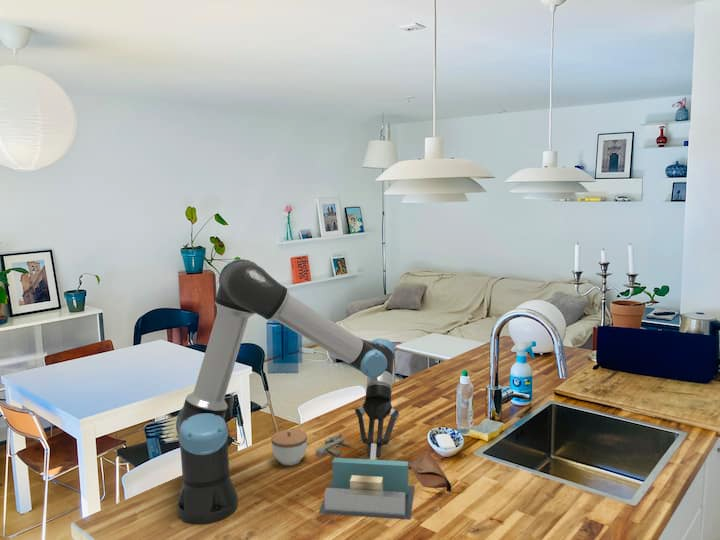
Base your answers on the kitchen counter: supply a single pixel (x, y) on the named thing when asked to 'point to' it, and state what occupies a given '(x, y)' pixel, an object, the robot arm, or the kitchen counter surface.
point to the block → (366, 483)
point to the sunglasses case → (429, 472)
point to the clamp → (326, 448)
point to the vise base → (368, 503)
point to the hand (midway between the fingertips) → (372, 468)
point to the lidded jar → (289, 446)
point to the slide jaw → (372, 473)
